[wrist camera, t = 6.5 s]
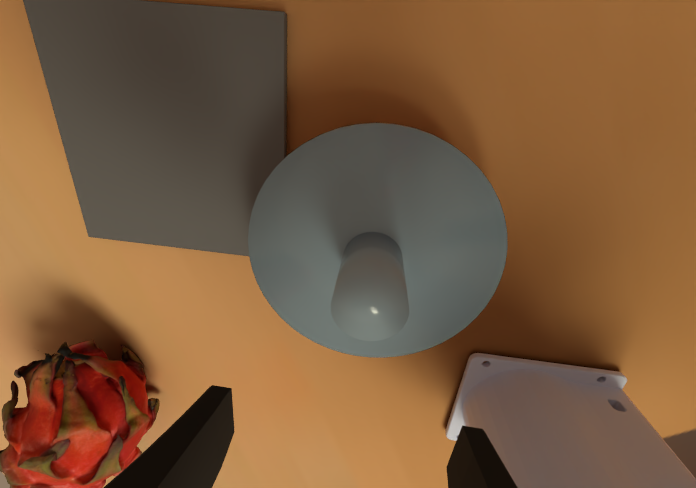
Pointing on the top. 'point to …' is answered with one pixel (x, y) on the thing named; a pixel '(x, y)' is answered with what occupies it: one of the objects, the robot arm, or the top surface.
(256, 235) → the lid
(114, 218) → the mat
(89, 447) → the dragon fruit
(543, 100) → the top surface
